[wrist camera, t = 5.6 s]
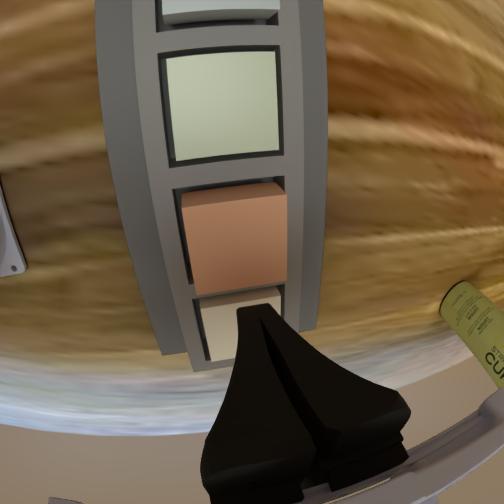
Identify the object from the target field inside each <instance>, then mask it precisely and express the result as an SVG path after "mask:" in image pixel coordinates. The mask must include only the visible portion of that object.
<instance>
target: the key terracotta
mask: <svg viewBox="0 0 504 504" xmlns="http://www.w3.org/2000/svg"><path fill="white" fill-rule="evenodd" d="M182 214H183V221H184V227H185V233H186V239H187V245H188V251H189V257H190V262H191V268H192V274H193V279H194V284H195V290H196V295H202V294H208V293H215V292H221V291H228V290H234V289H240V288H246V287H252V286H258V285H264V284H270V283H276V282H281V281H287V194H286V193H285V192H284V191H283V190H282V189H281V188H280V187H279V186H278V185H277V184H276V183H275V182H267V183H257V184H248V185H240V186H231V187H223V188H215V189H208V190H201V191H194V192H187V193H182Z"/></svg>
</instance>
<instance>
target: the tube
mask: <svg viewBox="0 0 504 504" xmlns="http://www.w3.org/2000/svg"><path fill="white" fill-rule="evenodd" d="M440 313H441V316H442V317H443V319H444V320H445V321H446V322H447V323H448V324H449V326H450V327H451V328H452V329H453V330H454V331H455V332H456V334H457V335H458V336H459V337H460V338H461V339H462V341H463V342H464V343H465V344H466V346H467V347H468V348H469V349H470V350H471V352H472V353H473V354H474V355H475V357H476V358H477V359H478V361H479V362H480V363H481V365H482V366H483V367H484V369H485V370H486V371H487V373H488V374H489V375H490V377H491V378H492V380H493V381H494V383H495V384H496V386H497V387H498V389H500V388H501V387H503V388H504V312H503V311H502V310H501V309H500V308H499V307H498V306H496V305H495V304H494V303H493V302H492V301H490V300H489V299H488V298H487V297H486V296H485V295H483V294H482V293H481V292H480V291H479V290H477V289H476V288H475V287H474V286H472V285H471V284H470V283H469V282H467V281H464V282H461V283H459V284H457V285H456V286H455V287H454V288H453V289H452V290H451V291H450V292H449V293H448V295H447V296H446V298H445V299H444V301H443V303H442V306H441V310H440Z"/></svg>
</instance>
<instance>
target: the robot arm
mask: <svg viewBox="0 0 504 504" xmlns="http://www.w3.org/2000/svg"><path fill="white" fill-rule="evenodd" d="M13 265H14V266H16V268H17V269H16V268H14V266H13ZM26 268H27V265H26V262H25V260H24V257H23V255H22V252H21V249H20V247H19V244H18V241H17V238H16V235H15V233H14V230H13V227H12V224H11V221H10V217H9V214H8V211H7V208H6V204H5V201H4V197H3V193H2V190H1V186H0V277H4V276H10V275H16V274H21V273H24V271H25V270H26ZM236 315H237V326H238V342H237V350H236V356H235V362H234V367H233V371H232V375H231V379H230V383H229V386H228V389H227V392H226V395H225V398H224V401H223V403H222V406H221V408H220V411H219V413H218V415H217V418H216V420H215V422H214V424H213V426H212V428H211V430H210V432H209V434H208V436H207V438H206V440H205V445H204V449H203V453H202V458H201V465H200V473H201V478H202V483H203V486H204V488H205V489H206V491H207V492H208V494H209V496H210V501H211V504H323V503H326V502H329V501H332V500H335V499H338V498H341V497H344V496H346V495H349V494H352V493H354V492H357V491H360V490H362V489H364V488H367V487H370V486H372V485H374V484H377V483H379V482H381V481H383V480H386V479H388V478H390V477H391V478H390V480H388V481H386V482H384V483H382V484H379V485H377V486H375V487H372V488H370V489H368V490H365V491H362V492H360V493H357V494H355V495H352V496H350V497H347V498H344V499H342V500H339V501H335V502H333V503H330V504H440V503H439V501H438V499H437V497H436V496H437V495H439V494H440V493H442V492H443V491H444V490H447V489H448V488H450V487H451V486H453V485H454V484H456V483H457V482H459V481H460V480H461V479H463V478H464V477H466V476H467V475H468V474H470V473H471V472H473V471H474V470H475V469H476V468H478V467H479V466H480V465H482V464H483V463H484V462H485V461H487V460H488V459H489V458H490V457H492V456H493V455H494V454H495V453H496V452H498V451H499V450H500V449H501V448H502V447H504V388H503V387H501V388H500V389H499V390H497V391H496V392H495V393H493V394H492V395H490V396H489V397H488V398H487V399H486V400H485V401H484V402H483V403H482V404H481V405H480V407H479V409H478V410H476V411H475V412H473V413H472V414H470V415H469V416H467V417H466V418H464V419H463V420H461V421H459V422H458V423H456V424H455V425H453V426H451V427H449V428H448V429H446V430H444V431H443V432H441V433H439V434H437V435H436V436H434V437H432V438H430V439H428V440H427V441H425V442H423V443H421V444H419V445H417V446H415V447H413V448H411V449H409V450H407V451H406V450H405V448H404V446H403V445H402V441H403V436H402V435H401V433H400V431H401V429H402V428H403V427H404V425H405V424H406V423H407V421H408V419H409V418H410V415H411V410H410V408H409V407H408V405H407V403H406V402H405V400H404V399H403V398H402V397H401V395H400V394H399V393H398V392H397V391H395V390H392V389H389V388H387V387H384V386H381V385H378V384H375V383H373V382H371V381H368V380H366V379H364V378H362V377H359V376H358V375H356V374H354V373H352V372H350V371H348V370H346V369H345V368H343V367H341V366H339V365H338V364H336V363H335V362H333V361H332V360H330V359H329V358H327V357H326V356H324V355H323V354H322V353H320V352H319V351H318V350H316V349H315V348H314V347H313V346H311V345H310V344H309V343H308V342H307V341H306V340H304V339H303V338H302V337H301V336H300V335H299V334H298V333H297V332H296V331H295V330H294V329H293V328H292V327H291V326H290V325H289V324H288V323H287V322H286V321H285V320H284V319H283V318H282V317H281V316H280V315H279V314H278V313H277V311H276V310H275V309H274V308H273V307H272V305H271V304H269V303H263V304H257V305H251V306H245V307H239V308H238V309H237V310H236ZM392 476H393V477H392ZM48 504H83V503H81V502H78V501H73V500H67V499H61V498H55V497H49V503H48Z"/></svg>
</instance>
